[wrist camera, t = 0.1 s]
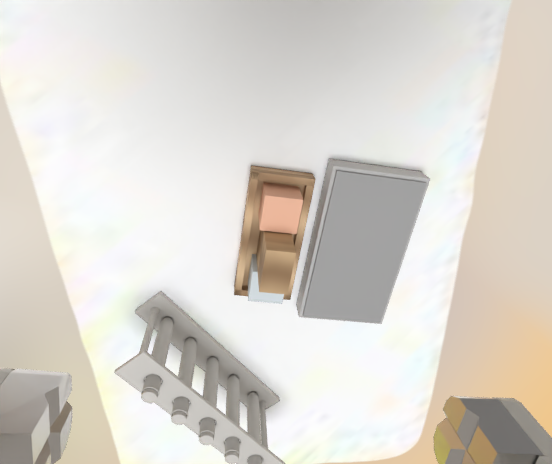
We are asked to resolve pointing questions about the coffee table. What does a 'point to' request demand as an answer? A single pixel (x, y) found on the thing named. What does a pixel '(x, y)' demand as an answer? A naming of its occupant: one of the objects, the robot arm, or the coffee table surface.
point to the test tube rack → (218, 369)
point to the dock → (359, 240)
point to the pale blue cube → (254, 287)
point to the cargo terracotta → (280, 208)
